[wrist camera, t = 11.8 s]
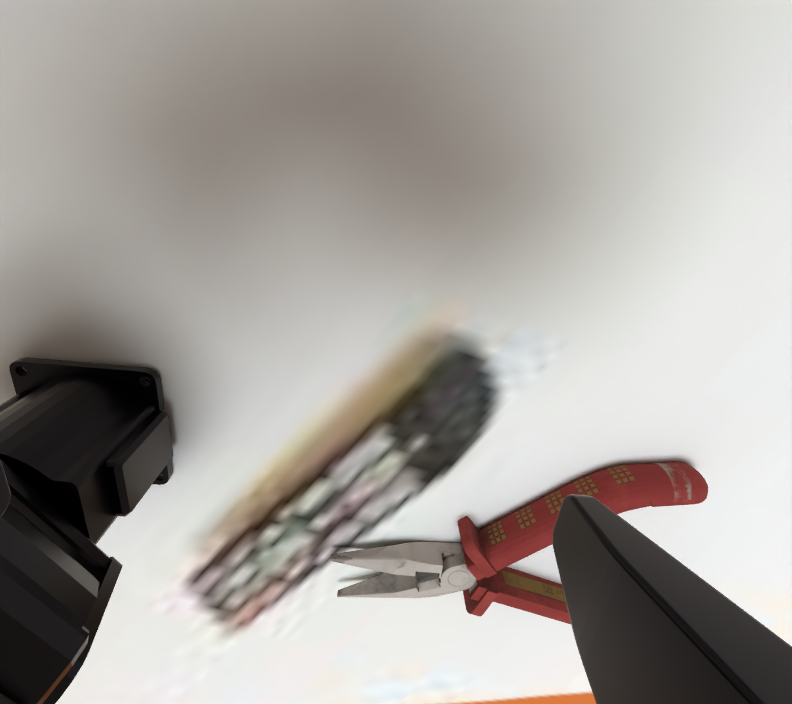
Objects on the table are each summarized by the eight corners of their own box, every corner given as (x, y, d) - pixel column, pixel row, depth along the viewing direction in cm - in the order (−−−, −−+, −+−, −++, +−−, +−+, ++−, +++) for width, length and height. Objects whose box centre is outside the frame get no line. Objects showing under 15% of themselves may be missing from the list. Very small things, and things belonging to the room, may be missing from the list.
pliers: (319, 483, 24) (311, 519, 21) (690, 448, 23) (725, 481, 21) (350, 621, 28) (346, 663, 26) (660, 595, 28) (686, 635, 25)
